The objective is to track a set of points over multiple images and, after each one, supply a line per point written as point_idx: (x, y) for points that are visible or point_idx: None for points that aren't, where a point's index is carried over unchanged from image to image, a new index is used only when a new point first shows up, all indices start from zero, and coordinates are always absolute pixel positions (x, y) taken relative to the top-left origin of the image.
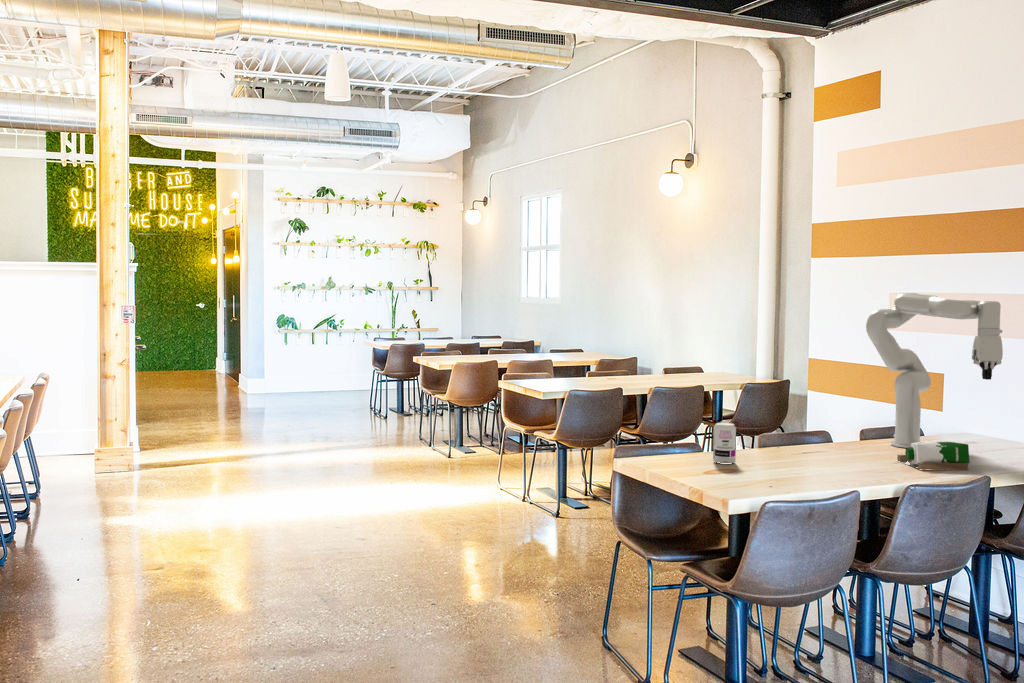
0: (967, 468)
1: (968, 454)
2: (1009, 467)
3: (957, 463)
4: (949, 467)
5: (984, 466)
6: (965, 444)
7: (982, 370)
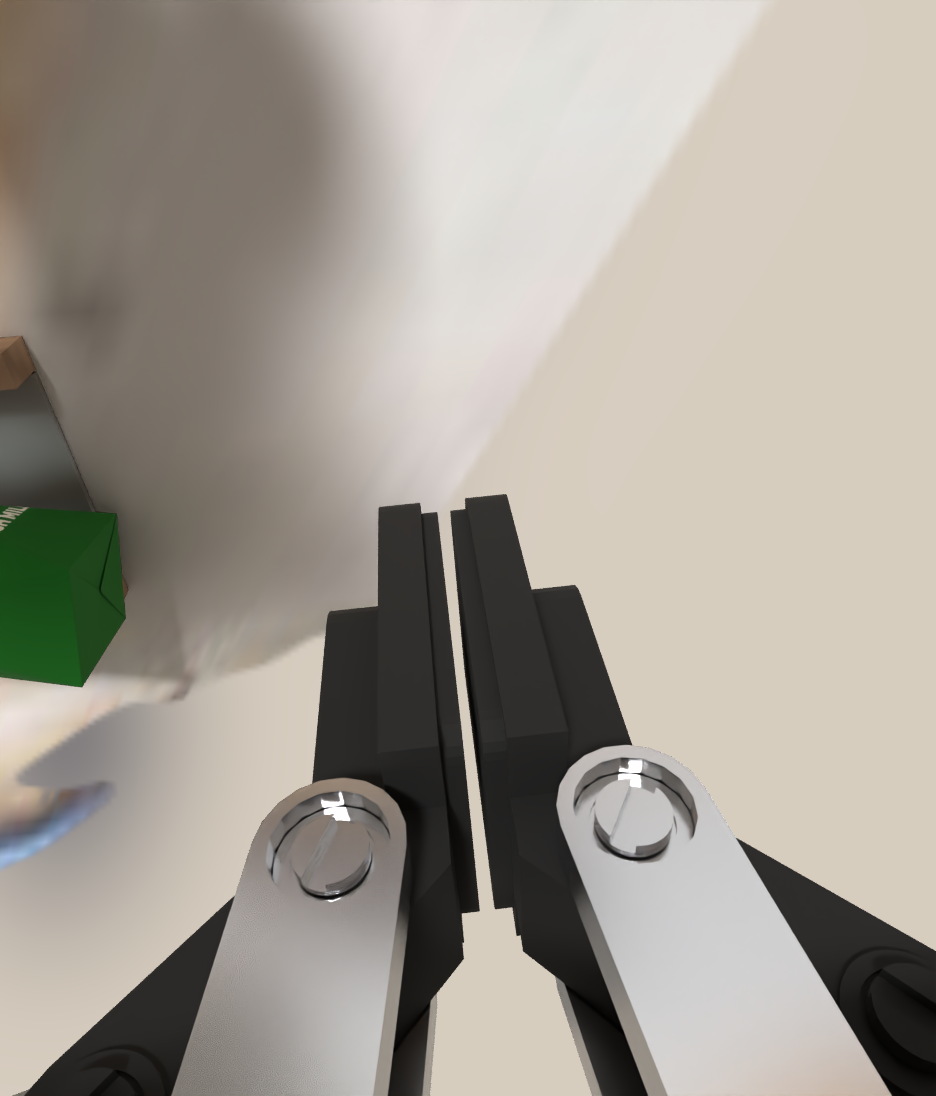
0: (124, 595)
1: (103, 648)
2: None
3: None
4: None
5: (266, 495)
6: (63, 684)
7: (315, 781)
